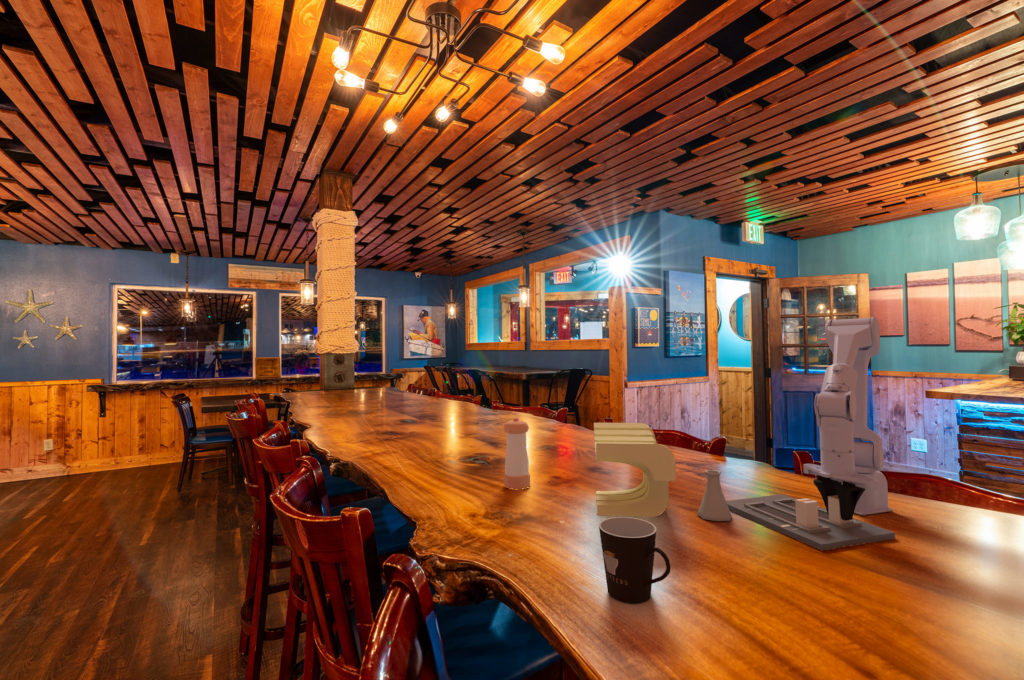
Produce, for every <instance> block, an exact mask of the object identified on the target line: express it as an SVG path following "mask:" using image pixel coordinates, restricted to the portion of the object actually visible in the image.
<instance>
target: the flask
mask: <svg viewBox="0 0 1024 680" xmlns="http://www.w3.org/2000/svg"><path fill="white" fill-rule="evenodd" d="M705 475H706V486H705V491H704V493H703V496H702V500H701V502H700V506H699V507H698V511H697V516H699V517H700V518H702V519H703V520H707V521H713V522H728V521H729V522H730V521H732V518H733V517H732V513H731V511H730V510H729V508H728V505H727V503H726V501H727V500H726V498H725V496H724V493H723V490H722V486H721V480H720V476H721V471H720V470H716V469H715V470H714V469H706V470H705Z"/></svg>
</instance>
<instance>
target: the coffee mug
mask: <svg viewBox="0 0 1024 680" xmlns="http://www.w3.org/2000/svg"><path fill="white" fill-rule="evenodd" d="M598 529H599V536H600V537H599V538H600V543H601V551H602V558H603V559H602V560H603V565H604V573H605V582H606V588H607V594H608V595H609V597H611V598H612V600H615V601H617V602H620V603H623V604H627V605H639V604H644V603H646V602H648V601H649V600H650V599H651V595H652V585H653V584H656V583H658V582H661V581H663V580H665V579H666V578H667V577H668V576H669V574H670V573H671V570H672V569H671V568H672V567H671V562H670V559H669V557H668V555H667V554H666V552H665V551H663V550H662V549H661V548H659V547H656V541H657V540H656V538H657V529H658V528H657V527H656V525H654V524H653V523H652V522H650V521H648V520H645V519H642V518H638V517H633V516H613V517H609V518H605V519H603V520H601V521H600V522H599V523H598ZM655 553H658V554H659V555H660V557H662V558H663V560H664V562H665V563H664V564H665V571H664V573H663V574H662V575H660V576H658V577H655V578H653V574H654V573H653V572H654V563H655V562H654V561H655Z"/></svg>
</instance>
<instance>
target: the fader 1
mask: <svg viewBox="0 0 1024 680" xmlns="http://www.w3.org/2000/svg"><path fill="white" fill-rule="evenodd" d="M795 499H796V500H795V506H796V524H797V525H799V526H802V527H804V528H807V529H809V528H816V527H819V523H818V505H819V503H818V501H817V500H814V499H812V498H811V499H810V498H806V497H805V498H799V499H797V498H795Z"/></svg>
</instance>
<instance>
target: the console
mask: <svg viewBox="0 0 1024 680" xmlns="http://www.w3.org/2000/svg"><path fill="white" fill-rule="evenodd" d="M796 499H797V498H794V497H791V496H790V495H786V494H782V493H781V494H773V495H765V496H764V495H763V496H757V497H756V496H755V497H746V498H739V499H731V500H726V503H727V505H728V508H729V510H730V512H732V513H735V514H737V515H739V516H741V517H744V518H746V519H748V520H751V521H753V522H755V523H757V524H760V525H761V526H764V527H766V528H769V529H771V530H773V531H775V532H777V531H778V533H780V534H782V535H784V534H785V535H784V536H787V537H789V536H790V537H789V538H791V537H792V539H793V538H795V539H794V540H796V539H797V540H796V541H798V540H799V541H798V542H800V541H802V542H804V543H803V544H805V543H806V544H805V545H807V544H808V545H807V546H809V545H810V546H809V547H811V546H813V547H812V548H814V549H816V548H817V550H818V549H820V550H819V551H821V550H822V551H821V552H824V551H823V550H826V551H828V550H827V549H832V550H834V549H833V548H838V549H840V548H839V547H843V546H850V545H856V546H858V545H857V544H862V545H864V544H863V543H868V544H871V543H870V542H874V543H877V542H876V541H879V542H883V541H882V540H885V541H890V540H889V539H891V540H895V539H896V533H895V531H891V530H888V529H885V528H882V527H880V526H877V525H874V524H871V523H868V522H865V521H863V520H859V519H856V518H854V517H853V518H852V520H851V522H849V523H842V524H838V523H835V522H832V521H829V515H828V513H827V510H826V508H824V507H821V506H818V523H819V527H816V528H809V529H807V528H804V527H802V526H799V525H797V524H796V506H795V500H796ZM802 542H801V543H802ZM850 547H851V546H850Z"/></svg>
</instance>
